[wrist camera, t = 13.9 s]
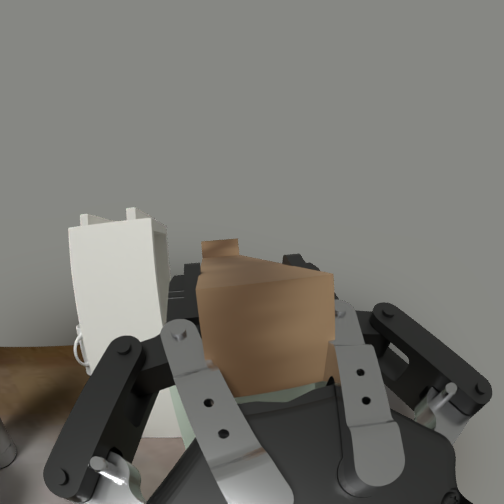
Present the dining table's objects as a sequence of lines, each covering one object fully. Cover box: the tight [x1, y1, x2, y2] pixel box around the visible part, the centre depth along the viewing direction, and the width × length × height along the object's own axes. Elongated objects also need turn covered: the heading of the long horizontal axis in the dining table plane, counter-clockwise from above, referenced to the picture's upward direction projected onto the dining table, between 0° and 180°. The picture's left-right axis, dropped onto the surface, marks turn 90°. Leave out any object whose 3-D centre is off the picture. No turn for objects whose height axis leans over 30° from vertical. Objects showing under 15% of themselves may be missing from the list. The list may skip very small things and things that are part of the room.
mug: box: [74, 324, 92, 376], centre depth 53 cm, size 12×8×12 cm
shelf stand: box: [68, 207, 182, 438], centre depth 38 cm, size 12×14×34 cm
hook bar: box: [196, 239, 335, 398], centre depth 19 cm, size 4×24×5 cm, turn 10°
